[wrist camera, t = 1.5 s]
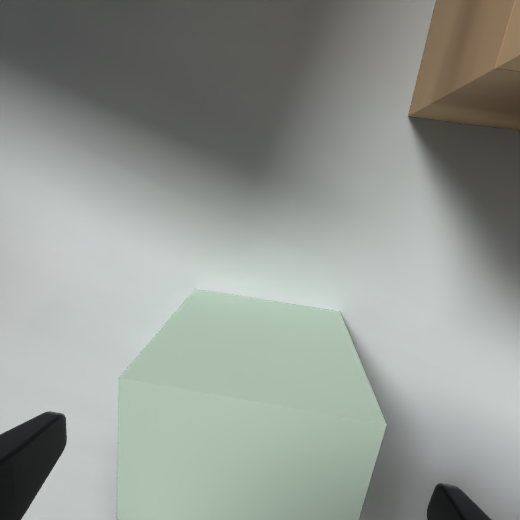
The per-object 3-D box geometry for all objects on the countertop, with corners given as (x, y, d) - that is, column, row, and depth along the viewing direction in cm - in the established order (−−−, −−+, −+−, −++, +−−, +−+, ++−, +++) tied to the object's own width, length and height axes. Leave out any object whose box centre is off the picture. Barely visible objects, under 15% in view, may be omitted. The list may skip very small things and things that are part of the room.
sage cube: (339, 310, 10) (386, 424, 5) (313, 429, 12) (332, 607, 7) (195, 287, 10) (118, 377, 6) (185, 407, 12) (116, 562, 7)
